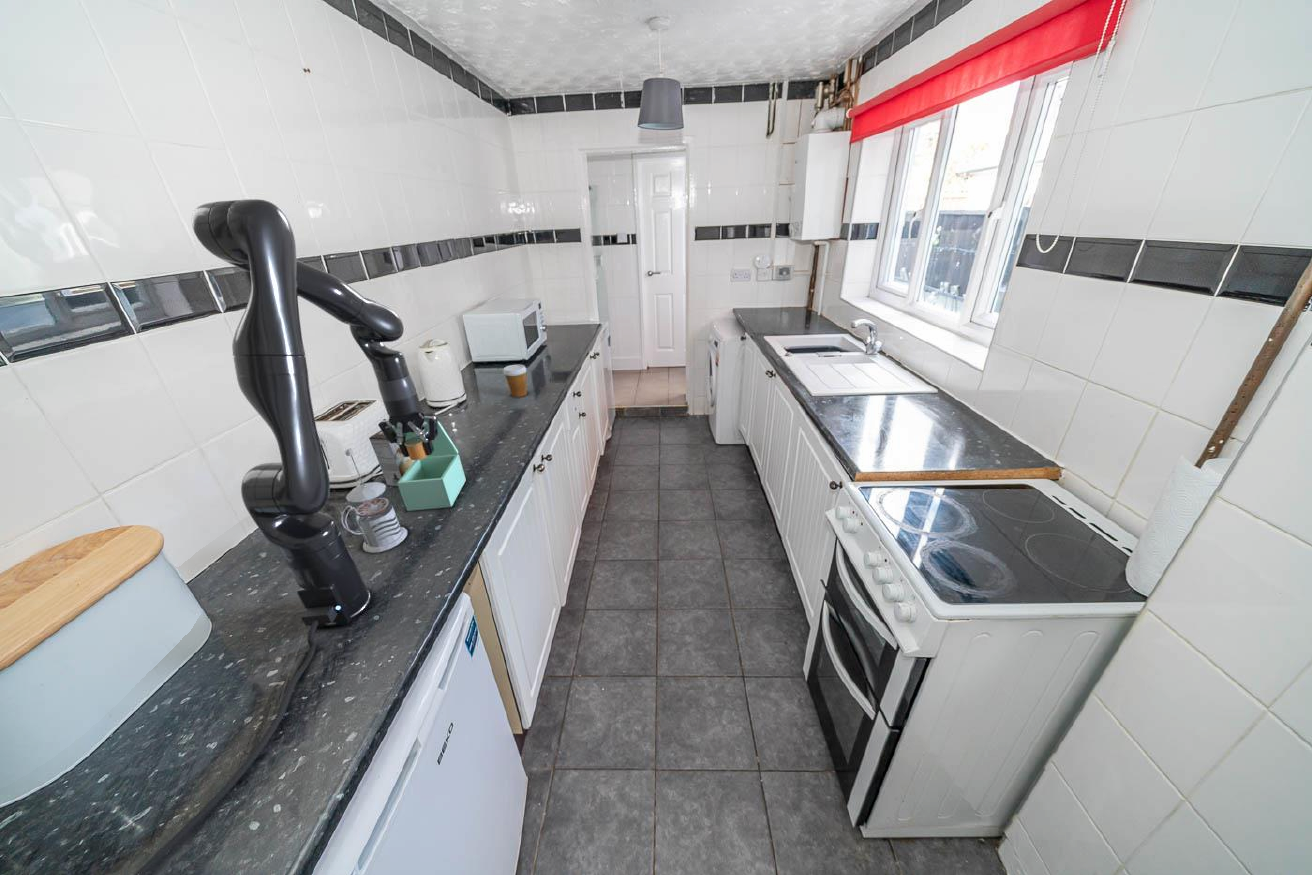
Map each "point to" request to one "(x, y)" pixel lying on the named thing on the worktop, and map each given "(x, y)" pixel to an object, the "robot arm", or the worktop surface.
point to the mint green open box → (432, 482)
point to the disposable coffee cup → (516, 379)
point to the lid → (437, 440)
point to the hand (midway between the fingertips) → (419, 454)
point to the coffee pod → (415, 448)
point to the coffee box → (390, 458)
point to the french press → (376, 535)
